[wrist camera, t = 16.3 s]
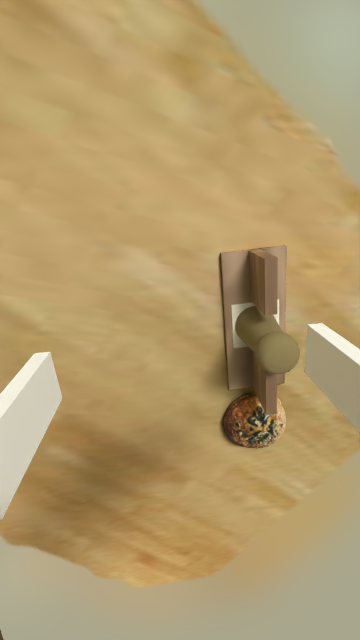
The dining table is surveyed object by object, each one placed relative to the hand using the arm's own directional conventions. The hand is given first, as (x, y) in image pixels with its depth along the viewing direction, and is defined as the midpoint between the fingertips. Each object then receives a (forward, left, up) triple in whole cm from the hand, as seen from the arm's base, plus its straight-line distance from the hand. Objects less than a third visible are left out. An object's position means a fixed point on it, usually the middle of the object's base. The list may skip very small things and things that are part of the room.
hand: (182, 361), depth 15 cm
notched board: (+12, -10, -28) cm, 32 cm away
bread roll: (+11, -28, -29) cm, 42 cm away
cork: (+11, -10, -28) cm, 32 cm away
